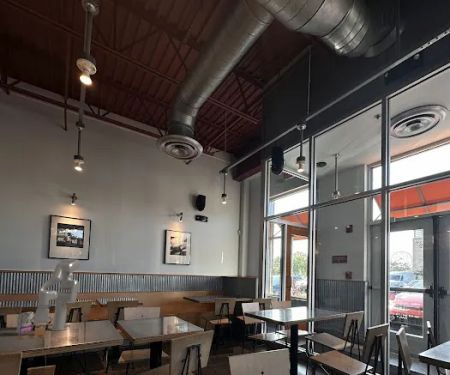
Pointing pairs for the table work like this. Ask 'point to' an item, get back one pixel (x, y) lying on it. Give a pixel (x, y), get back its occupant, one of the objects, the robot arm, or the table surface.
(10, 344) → the table surface
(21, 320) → the candy bar box
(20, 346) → the table surface
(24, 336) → the post board
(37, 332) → the collar
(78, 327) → the table surface
